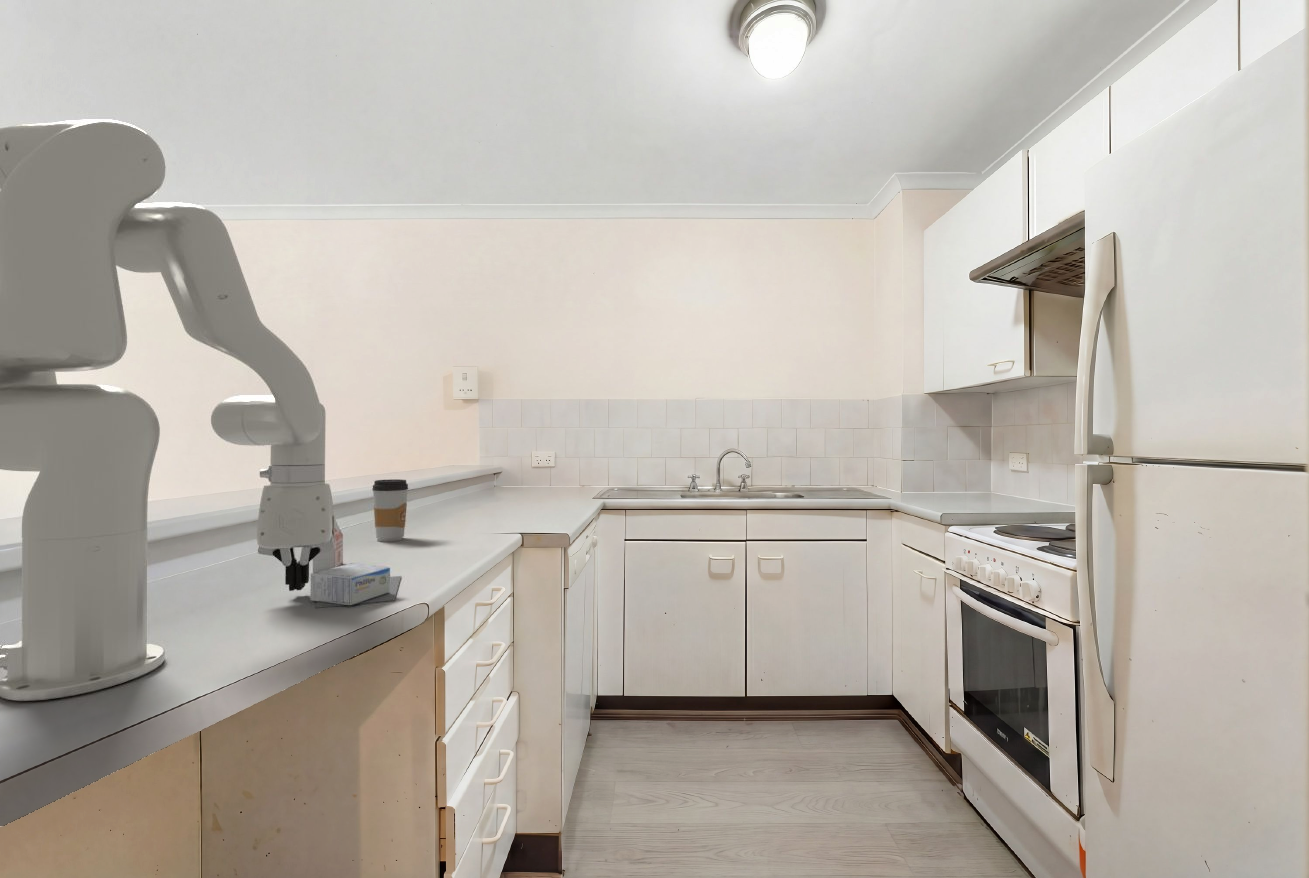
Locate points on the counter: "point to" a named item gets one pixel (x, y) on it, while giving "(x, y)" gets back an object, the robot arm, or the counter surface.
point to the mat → (383, 598)
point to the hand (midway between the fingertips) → (297, 588)
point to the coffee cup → (390, 509)
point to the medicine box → (350, 583)
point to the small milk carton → (330, 553)
